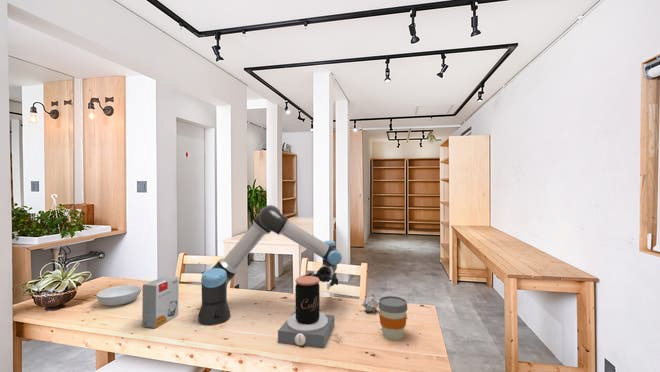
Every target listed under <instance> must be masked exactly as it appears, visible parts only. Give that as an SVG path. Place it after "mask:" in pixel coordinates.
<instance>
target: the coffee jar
mask: <svg viewBox="0 0 660 372" xmlns="http://www.w3.org/2000/svg"><path fill="white" fill-rule="evenodd" d="M301 276H302V277H301ZM301 276H299V277H297V278H295V283H296V284H295V285H294V286H295V289H294V291H295V293H294V294H295V296H294V297H295V300H294V301H295V312H296V320H297V321H298V322H299V323H301V324H313V323H316V322H317V321H318V319H319V317H320V313H321V312H320V302H321V301H320V295H321V294H320V292H321V291H320V281H319V278H317V277H314V276H304V275H301Z"/></svg>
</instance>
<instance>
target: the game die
mask: <svg viewBox="0 0 660 372" xmlns="http://www.w3.org/2000/svg"><path fill="white" fill-rule="evenodd" d="M364 297H365V298H364V301H363V303H362V304H361V306H363V307H364V309H365V310H366V313H367V314H368V313H369V312H377V308H378V305H379V301H377V299H376V298H375V294H373V295H372V296H364Z"/></svg>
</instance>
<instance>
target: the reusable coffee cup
mask: <svg viewBox="0 0 660 372" xmlns="http://www.w3.org/2000/svg"><path fill="white" fill-rule="evenodd" d="M377 308H378V309H379V312H378V316H379V322H380V323H379V324H380V325H381V332H382V336H383V338H385V339H386V340H390V341H400V340H402V339H403V338H404V332H405V327H406V325H407V318H408V314H407V311H408V302H407V300H406V299H405V298H402V297H400V296H395V295H387V296H382V297H380V298H379V300H378V306H377Z"/></svg>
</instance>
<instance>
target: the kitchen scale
mask: <svg viewBox="0 0 660 372" xmlns="http://www.w3.org/2000/svg"><path fill="white" fill-rule="evenodd" d="M334 328H335V315H334V314H326V313H325V314H324V313H321V312H320V317H319V319H318V321H317V322H316V323H313V324H301V323H299V322H298V321H297V320H296V311H293V312H292V313H291V314H290V316H289V317H288V318H287V319H286V320H285V322H284V323H283V324H282V325H281V326H280V328H279V329H278V330H277V343H281V344H287V345H295V346H297V345H298V346H305V347H312V348H320V349H321V348H322V349H324V348H325V347H326V345H327V342H329V341H328V340H329V338H330V336H331V334H332V332H333V329H334Z"/></svg>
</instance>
